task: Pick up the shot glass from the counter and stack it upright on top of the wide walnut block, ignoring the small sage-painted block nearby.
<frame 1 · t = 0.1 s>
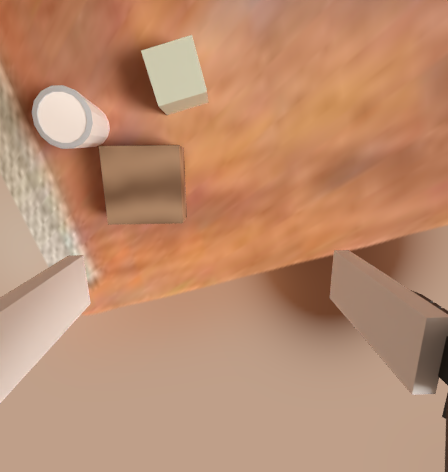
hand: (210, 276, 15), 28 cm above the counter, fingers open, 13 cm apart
sage block: (181, 86, 37), on the counter
walnut block: (151, 183, 41), on the counter
shot glass: (89, 126, 39), on the counter
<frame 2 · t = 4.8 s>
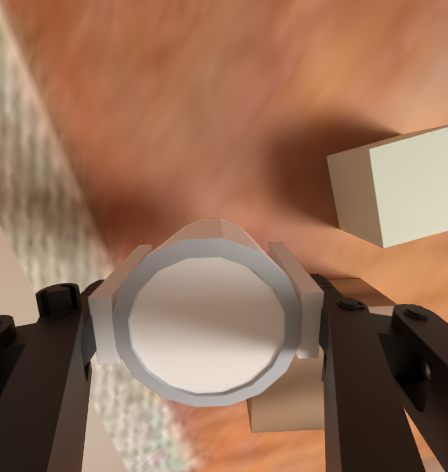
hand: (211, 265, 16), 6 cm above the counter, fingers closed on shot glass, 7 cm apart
sage block: (369, 183, 22), on the counter
walnut block: (300, 332, 25), on the counter
shot glass: (212, 262, 17), point 6 cm above the counter, touching gripper
when the fingers open (6 cm above the counter, at t = 8.9 s): shot glass stays where it is, resting on walnut block.
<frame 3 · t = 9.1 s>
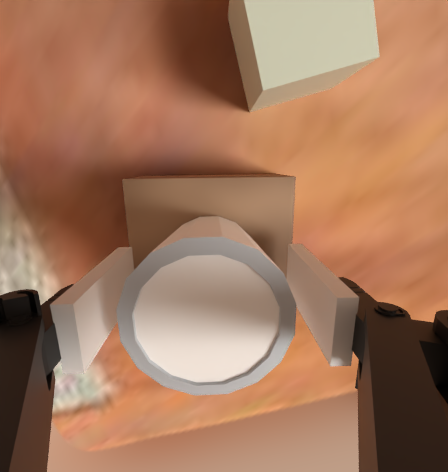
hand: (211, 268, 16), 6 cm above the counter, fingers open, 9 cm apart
sage block: (281, 54, 19), on the counter
walnut block: (212, 239, 22), on the counter
shot glass: (211, 259, 17), point 5 cm above the counter, touching walnut block
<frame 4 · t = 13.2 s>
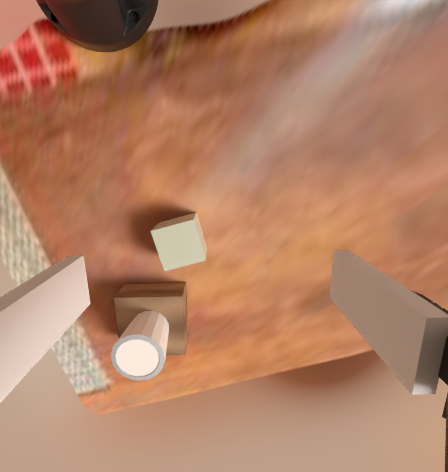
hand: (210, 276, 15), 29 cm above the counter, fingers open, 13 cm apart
sage block: (183, 235, 44), on the counter
walnut block: (157, 310, 47), on the counter
shot glass: (150, 326, 42), point 5 cm above the counter, touching walnut block
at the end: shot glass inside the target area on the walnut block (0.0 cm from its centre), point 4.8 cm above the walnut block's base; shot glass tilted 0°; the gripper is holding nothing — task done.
